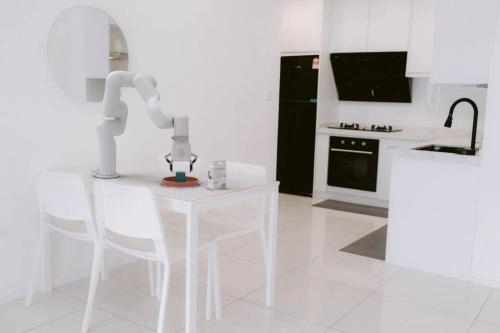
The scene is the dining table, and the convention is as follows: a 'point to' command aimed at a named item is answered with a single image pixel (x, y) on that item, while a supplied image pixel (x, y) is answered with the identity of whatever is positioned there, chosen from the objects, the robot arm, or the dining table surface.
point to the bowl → (172, 182)
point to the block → (180, 176)
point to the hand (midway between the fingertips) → (181, 171)
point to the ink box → (217, 175)
